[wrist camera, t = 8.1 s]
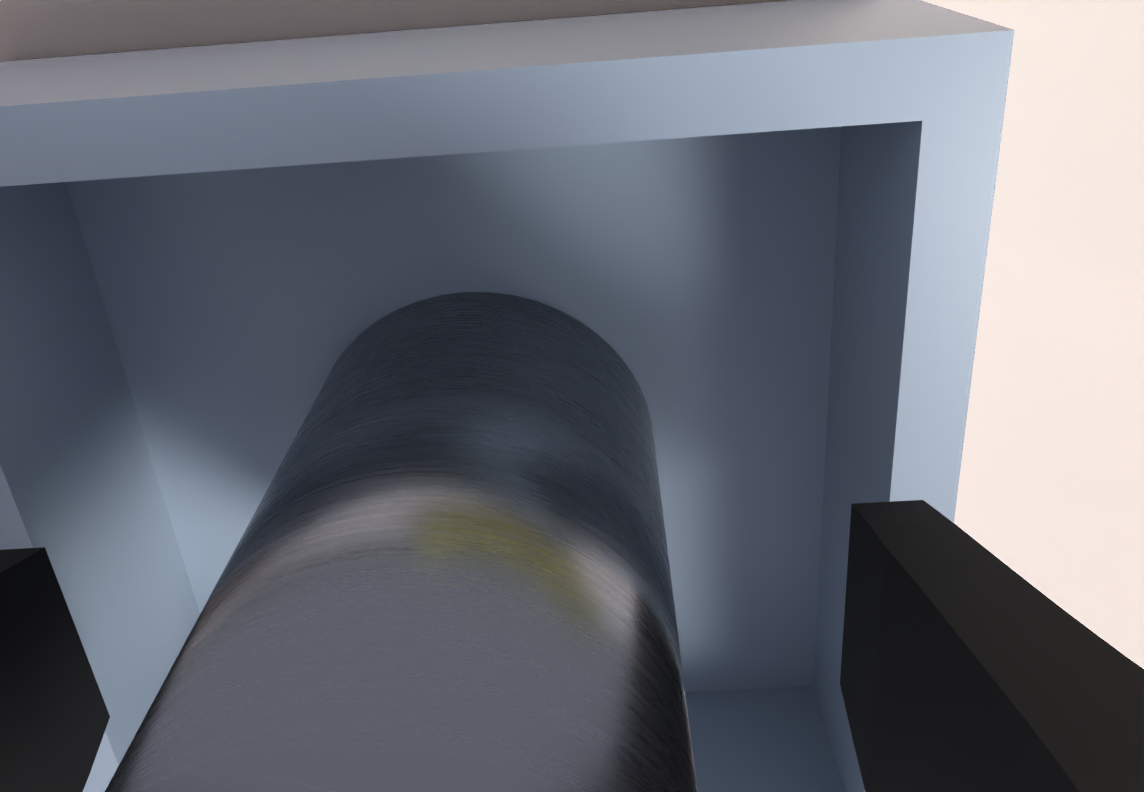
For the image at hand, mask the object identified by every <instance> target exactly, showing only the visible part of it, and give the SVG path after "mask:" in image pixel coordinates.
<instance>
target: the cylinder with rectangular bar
mask: <svg viewBox="0 0 1144 792" xmlns="http://www.w3.org/2000/svg"><path fill="white" fill-rule="evenodd" d="M105 792H698V791H697V783H696V775H695V767H694V759H693V751H692V743H691V735H690V727H689V719H688V710H687V702H686V694H685V686H684V678H683V670H682V662H681V654H680V646H679V638H678V630H677V622H676V613H675V605H674V597H673V589H672V581H671V573H670V565H669V557H668V549H667V541H666V533H665V525H664V517H663V508H662V500H661V492H660V484H659V476H658V468H657V460H656V452H655V444H654V436H653V428H652V421H651V417H650V413H649V409H648V406H647V402H646V400H645V397H644V395H643V393H642V391H641V388H640V386H639V384H638V382H637V380H636V379H635V377H634V375H633V374H632V372H631V371H630V369H629V367H628V366H627V364H626V363H625V362H624V361H623V360H622V358H621V357H620V356H619V355H618V354H617V352H616V351H615V350H614V349H613V348H612V347H611V346H610V345H609V344H608V343H607V342H606V341H605V340H604V339H602V338H601V337H600V336H599V335H598V334H597V333H596V332H594V331H593V330H591V329H590V328H589V327H587V326H586V325H584V324H583V323H582V322H580V321H579V320H577V319H575V318H573V317H571V316H570V315H568V314H566V313H564V312H562V311H560V310H558V309H556V308H553V307H551V306H548V305H546V304H543V303H540V302H538V301H535V300H531V299H527V298H523V297H519V296H515V295H509V294H501V293H493V292H460V293H452V294H444V295H439V296H435V297H431V298H427V299H423V300H419V301H416V302H414V303H411V304H409V305H406V306H404V307H401V308H399V309H397V310H395V311H393V312H391V313H390V314H388V315H386V316H384V317H383V318H381V319H379V320H377V321H376V322H375V323H374V324H372V325H371V326H370V327H368V328H367V329H366V330H364V331H363V332H362V333H361V334H360V335H359V336H358V337H357V338H356V339H355V340H354V341H353V342H352V343H351V344H350V345H349V346H348V347H347V348H346V349H345V351H344V352H343V353H342V355H341V356H340V358H339V359H338V360H337V362H336V363H335V365H334V366H333V368H332V370H331V372H330V374H329V375H328V377H327V379H326V381H325V383H324V385H323V387H322V388H321V390H320V392H319V394H318V396H317V398H316V400H315V401H314V403H313V405H312V407H311V409H310V411H309V413H308V414H307V416H306V418H305V420H304V422H303V424H302V426H301V427H300V429H299V431H298V433H297V435H296V437H295V439H294V440H293V442H292V444H291V446H290V448H289V450H288V452H287V453H286V455H285V457H284V459H283V461H282V463H281V465H280V467H279V468H278V470H277V472H276V474H275V476H274V478H273V480H272V481H271V483H270V485H269V487H268V489H267V491H266V493H265V494H264V496H263V498H262V500H261V502H260V504H259V506H258V507H257V509H256V511H255V513H254V515H253V517H252V519H251V520H250V522H249V524H248V526H247V528H246V530H245V532H244V533H243V535H242V537H241V539H240V541H239V543H238V545H237V546H236V548H235V550H234V552H233V554H232V556H231V558H230V560H229V561H228V563H227V565H226V567H225V569H224V571H223V573H222V574H221V576H220V578H219V580H218V582H217V584H216V586H215V587H214V589H213V591H212V593H211V595H210V597H209V599H208V600H207V602H206V604H205V606H204V608H203V610H202V612H201V613H200V615H199V617H198V619H197V621H196V623H195V625H194V626H193V628H192V630H191V632H190V634H189V636H188V638H187V639H186V641H185V643H184V645H183V647H182V649H181V651H180V653H179V654H178V656H177V658H176V660H175V662H174V664H173V666H172V667H171V669H170V671H169V673H168V675H167V677H166V679H165V680H164V682H163V684H162V686H161V688H160V690H159V692H158V693H157V695H156V697H155V699H154V701H153V703H152V705H151V706H150V708H149V710H148V712H147V714H146V716H145V718H144V719H143V721H142V723H141V725H140V727H139V729H138V731H137V732H136V734H135V736H134V738H133V740H132V742H131V744H130V746H129V747H128V749H127V751H126V753H125V755H124V757H123V759H122V760H121V762H120V764H119V766H118V768H117V770H116V772H115V773H114V775H113V777H112V779H111V781H110V783H109V785H108V786H107V788H106V790H105Z"/></svg>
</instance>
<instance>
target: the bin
mask: <svg viewBox="0 0 1144 792" xmlns="http://www.w3.org/2000/svg"><path fill="white" fill-rule="evenodd" d="M1013 35H1014V30H1012V29H1009V28H1006V27H1003V26H1000V25H996V24H993V23H990V22H987V21H984V20H981V19H977V18H974V17H971V16H968V15H965V14H961V13H958V12H955V11H952V10H949V9H946V8H942V7H939V6H936V5H933V4H930V3H926V2H923V1H920V0H789V1H776V2H763V3H750V4H737V5H724V6H711V7H698V8H685V9H672V10H660V11H647V12H634V13H621V14H608V15H595V16H582V17H569V18H556V19H543V20H530V21H518V22H505V23H492V24H479V25H466V26H453V27H440V28H427V29H414V30H401V31H389V32H376V33H363V34H350V35H337V36H324V37H311V38H298V39H285V40H272V41H260V42H247V43H234V44H221V45H208V46H195V47H182V48H169V49H156V50H143V51H130V52H118V53H105V54H92V55H79V56H66V57H53V58H40V59H27V60H14V61H2V62H0V550H3V549H22V548H41V547H45V549H46V551H47V554H48V556H49V559H50V562H51V564H52V567H53V569H54V572H55V575H56V577H57V580H58V582H59V585H60V588H61V590H62V593H63V595H64V598H65V601H66V603H67V606H68V608H69V611H70V614H71V616H72V619H73V621H74V624H75V627H76V629H77V632H78V634H79V637H80V640H81V642H82V645H83V647H84V650H85V653H86V655H87V658H88V660H89V663H90V666H91V668H92V671H93V673H94V676H95V679H96V681H97V684H98V686H99V689H100V692H101V694H102V697H103V699H104V702H105V705H106V707H107V710H108V712H109V715H110V719H109V721H108V724H107V727H106V730H105V733H104V735H103V738H102V741H101V744H100V747H99V749H98V752H97V755H96V758H95V761H94V763H93V766H92V769H91V772H90V775H89V777H88V780H87V782H86V785H85V787H84V790H83V792H105V790H106V788H107V786H108V785H109V783H110V781H111V779H112V777H113V775H114V773H115V772H116V770H117V768H118V766H119V764H120V762H121V760H122V759H123V757H124V755H125V753H126V751H127V749H128V747H129V746H130V744H131V742H132V740H133V738H134V736H135V734H136V732H137V731H138V729H139V727H140V725H141V723H142V721H143V719H144V718H145V716H146V714H147V712H148V710H149V708H150V706H151V705H152V703H153V701H154V699H155V697H156V695H157V693H158V692H159V690H160V688H161V686H162V684H163V682H164V680H165V679H166V677H167V675H168V673H169V671H170V669H171V667H172V666H173V664H174V662H175V660H176V658H177V656H178V654H179V653H180V651H181V649H182V647H183V645H184V643H185V641H186V639H187V638H188V636H189V634H190V632H191V630H192V628H193V626H194V625H195V623H196V621H197V619H198V617H199V615H200V613H201V612H202V610H203V608H204V606H205V604H206V602H207V600H208V599H209V597H210V595H211V593H212V591H213V589H214V587H215V586H216V584H217V582H218V580H219V578H220V576H221V574H222V573H223V571H224V569H225V567H226V565H227V563H228V561H229V560H230V558H231V556H232V554H233V552H234V550H235V548H236V546H237V545H238V543H239V541H240V539H241V537H242V535H243V533H244V532H245V530H246V528H247V526H248V524H249V522H250V520H251V519H252V517H253V515H254V513H255V511H256V509H257V507H258V506H259V504H260V502H261V500H262V498H263V496H264V494H265V493H266V491H267V489H268V487H269V485H270V483H271V481H272V480H273V478H274V476H275V474H276V472H277V470H278V468H279V467H280V465H281V463H282V461H283V459H284V457H285V455H286V453H287V452H288V450H289V448H290V446H291V444H292V442H293V440H294V439H295V437H296V435H297V433H298V431H299V429H300V427H301V426H302V424H303V422H304V420H305V418H306V416H307V414H308V413H309V411H310V409H311V407H312V405H313V403H314V401H315V400H316V398H317V396H318V394H319V392H320V390H321V388H322V387H323V385H324V383H325V381H326V379H327V377H328V375H329V374H330V372H331V370H332V368H333V366H334V365H335V363H336V362H337V360H338V359H339V358H340V356H341V355H342V353H343V352H344V351H345V349H346V348H347V347H348V346H349V345H350V344H351V343H352V342H353V341H354V340H355V339H356V338H357V337H358V336H359V335H360V334H361V333H362V332H363V331H364V330H366V329H367V328H368V327H370V326H371V325H372V324H374V323H375V322H376V321H377V320H379V319H381V318H383V317H384V316H386V315H388V314H390V313H391V312H393V311H395V310H397V309H399V308H401V307H404V306H406V305H409V304H411V303H414V302H416V301H419V300H423V299H427V298H431V297H435V296H439V295H444V294H452V293H460V292H493V293H501V294H509V295H515V296H519V297H523V298H527V299H531V300H535V301H538V302H540V303H543V304H546V305H548V306H551V307H553V308H556V309H558V310H560V311H562V312H564V313H566V314H568V315H570V316H571V317H573V318H575V319H577V320H579V321H580V322H582V323H583V324H584V325H586V326H587V327H589V328H590V329H591V330H593V331H594V332H596V333H597V334H598V335H599V336H600V337H601V338H602V339H604V340H605V341H606V342H607V343H608V344H609V345H610V346H611V347H612V348H613V349H614V350H615V351H616V352H617V354H618V355H619V356H620V357H621V358H622V360H623V361H624V362H625V363H626V364H627V366H628V367H629V369H630V371H631V372H632V374H633V375H634V377H635V379H636V380H637V382H638V384H639V386H640V388H641V391H642V393H643V395H644V397H645V400H646V402H647V406H648V409H649V413H650V417H651V421H652V428H653V436H654V444H655V452H656V460H657V468H658V476H659V484H660V492H661V500H662V508H663V517H664V525H665V533H666V541H667V549H668V557H669V565H670V573H671V581H672V589H673V597H674V605H675V613H676V622H677V630H678V638H679V646H680V654H681V662H682V670H683V678H684V686H685V694H686V702H687V710H688V719H689V727H690V735H691V743H692V751H693V759H694V767H695V775H696V783H697V791H698V792H865V788H864V784H863V780H862V776H861V772H860V768H859V764H858V760H857V755H856V751H855V747H854V743H853V739H852V735H851V730H850V726H849V721H848V717H847V713H846V708H845V704H844V699H843V695H842V691H841V686H840V674H841V658H842V643H843V627H844V612H845V596H846V581H847V565H848V550H849V534H850V519H851V504H855V503H874V502H892V501H911V500H924V501H925V502H927V503H928V504H929V505H931V506H932V507H933V508H935V509H936V510H937V511H939V512H940V513H941V514H942V515H944V516H945V517H946V518H948V519H949V520H950V521H951V522H953V523H954V516H955V507H956V499H957V491H958V483H959V475H960V467H961V459H962V450H963V442H964V434H965V426H966V418H967V410H968V402H969V393H970V385H971V377H972V369H973V361H974V353H975V345H976V336H977V328H978V320H979V312H980V304H981V296H982V288H983V279H984V271H985V263H986V255H987V247H988V239H989V231H990V222H991V214H992V206H993V198H994V190H995V182H996V174H997V165H998V157H999V149H1000V141H1001V133H1002V125H1003V117H1004V108H1005V100H1006V92H1007V84H1008V76H1009V68H1010V60H1011V51H1012V43H1013Z"/></svg>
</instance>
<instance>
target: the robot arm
mask: <svg viewBox="0 0 1144 792" xmlns="http://www.w3.org/2000/svg"><path fill="white" fill-rule="evenodd" d="M840 686H841V691H842V695H843V699H844V704H845V708H846V713H847V717H848V721H849V726H850V730H851V735H852V739H853V743H854V747H855V751H856V755H857V760H858V764H859V768H860V772H861V776H862V780H863V784H864V788H865V792H1144V669H1142V668H1141V667H1140V666H1138V665H1137V664H1135V663H1134V662H1133V661H1131V660H1130V659H1128V658H1127V657H1126V656H1124V655H1123V654H1122V653H1120V652H1119V651H1117V650H1116V649H1115V648H1113V647H1112V646H1111V645H1109V644H1108V643H1107V642H1105V641H1104V640H1103V639H1101V638H1100V637H1098V636H1097V635H1096V634H1094V633H1093V632H1092V631H1091V630H1089V629H1088V628H1087V627H1085V626H1084V625H1083V624H1081V623H1080V622H1079V621H1077V620H1076V619H1075V618H1073V617H1072V616H1071V615H1069V614H1068V613H1067V612H1065V611H1064V610H1063V609H1062V608H1060V607H1059V606H1058V605H1056V604H1055V603H1054V602H1053V601H1051V600H1050V599H1049V598H1047V597H1046V596H1045V595H1043V594H1042V593H1041V592H1040V591H1038V590H1037V589H1036V588H1034V587H1033V586H1032V585H1031V584H1029V583H1028V582H1027V581H1026V580H1024V579H1023V578H1022V577H1021V576H1019V575H1018V574H1017V573H1016V572H1014V571H1013V570H1012V569H1010V568H1009V567H1008V566H1007V565H1005V564H1004V563H1003V562H1002V561H1000V560H999V559H998V558H997V557H995V556H994V555H993V554H992V553H990V552H989V551H988V550H987V549H985V548H984V547H983V546H982V545H980V544H979V543H978V542H977V541H975V540H974V539H973V538H972V537H970V536H969V535H968V534H967V533H965V532H964V531H963V530H962V529H960V528H959V527H958V526H957V525H955V524H954V523H953V522H951V521H950V520H949V519H948V518H946V517H945V516H944V515H942V514H941V513H940V512H939V511H937V510H936V509H935V508H933V507H932V506H931V505H929V504H928V503H927V502H925V501H924V500H911V501H892V502H874V503H855V504H851V519H850V534H849V550H848V565H847V581H846V596H845V612H844V627H843V643H842V658H841V674H840ZM109 719H110V715H109V712H108V710H107V707H106V705H105V702H104V699H103V697H102V694H101V692H100V689H99V686H98V684H97V681H96V679H95V676H94V673H93V671H92V668H91V666H90V663H89V660H88V658H87V655H86V653H85V650H84V647H83V645H82V642H81V640H80V637H79V634H78V632H77V629H76V627H75V624H74V621H73V619H72V616H71V614H70V611H69V608H68V606H67V603H66V601H65V598H64V595H63V593H62V590H61V588H60V585H59V582H58V580H57V577H56V575H55V572H54V569H53V567H52V564H51V562H50V559H49V556H48V554H47V551H46V549H45V547H41V548H22V549H3V550H0V792H83V790H84V787H85V785H86V782H87V780H88V777H89V775H90V772H91V769H92V766H93V763H94V761H95V758H96V755H97V752H98V749H99V747H100V744H101V741H102V738H103V735H104V733H105V730H106V727H107V724H108V721H109Z"/></svg>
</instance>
